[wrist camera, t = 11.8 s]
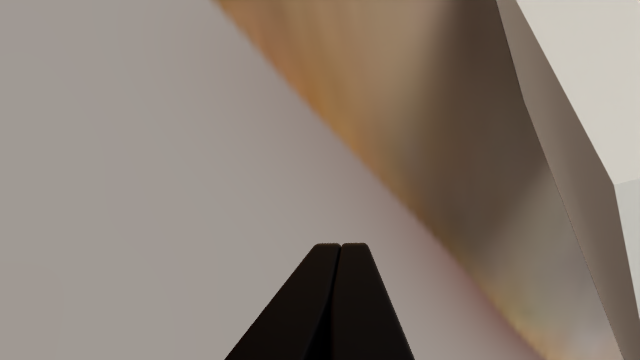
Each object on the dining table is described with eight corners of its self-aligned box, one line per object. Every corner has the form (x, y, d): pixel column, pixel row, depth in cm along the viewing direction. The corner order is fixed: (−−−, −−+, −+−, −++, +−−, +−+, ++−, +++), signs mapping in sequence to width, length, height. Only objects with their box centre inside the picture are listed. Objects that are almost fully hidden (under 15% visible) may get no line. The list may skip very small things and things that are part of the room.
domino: (524, 100, 15) (670, 481, 7) (473, -80, 12) (613, 185, 4) (594, 78, 14) (848, 469, 6) (556, -117, 11) (911, 110, 3)
